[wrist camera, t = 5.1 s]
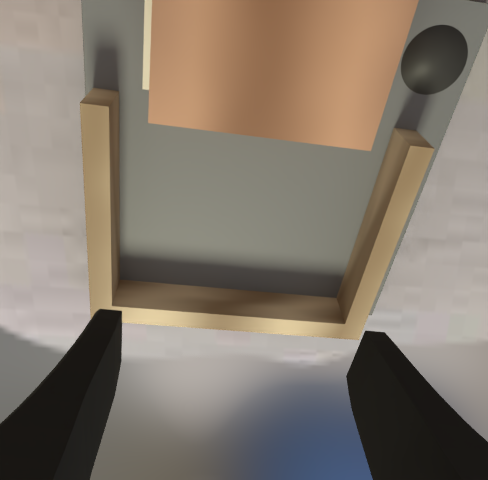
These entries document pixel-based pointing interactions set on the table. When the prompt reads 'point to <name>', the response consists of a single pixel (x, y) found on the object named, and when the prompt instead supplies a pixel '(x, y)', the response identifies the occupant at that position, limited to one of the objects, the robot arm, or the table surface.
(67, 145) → the table surface
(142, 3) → the floor board
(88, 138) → the oak cubby
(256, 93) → the terracotta slab
